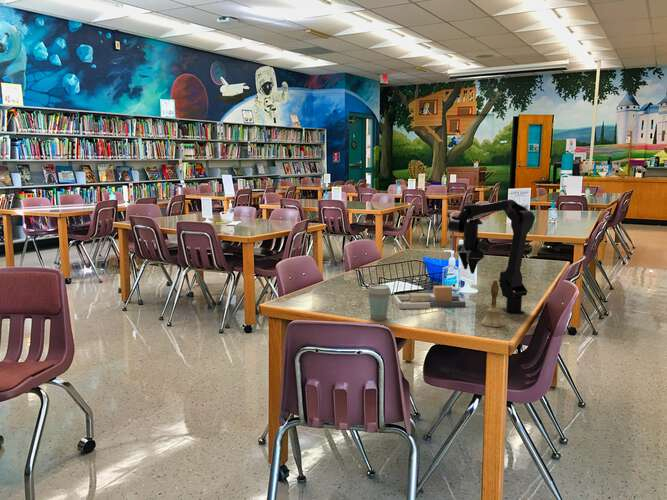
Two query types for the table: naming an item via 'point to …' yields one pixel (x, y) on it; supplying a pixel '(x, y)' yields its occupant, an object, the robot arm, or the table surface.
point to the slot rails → (449, 303)
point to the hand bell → (493, 310)
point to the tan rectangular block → (441, 294)
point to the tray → (408, 305)
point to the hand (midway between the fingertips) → (468, 271)
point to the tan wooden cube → (414, 298)
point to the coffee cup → (378, 301)
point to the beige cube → (425, 297)
